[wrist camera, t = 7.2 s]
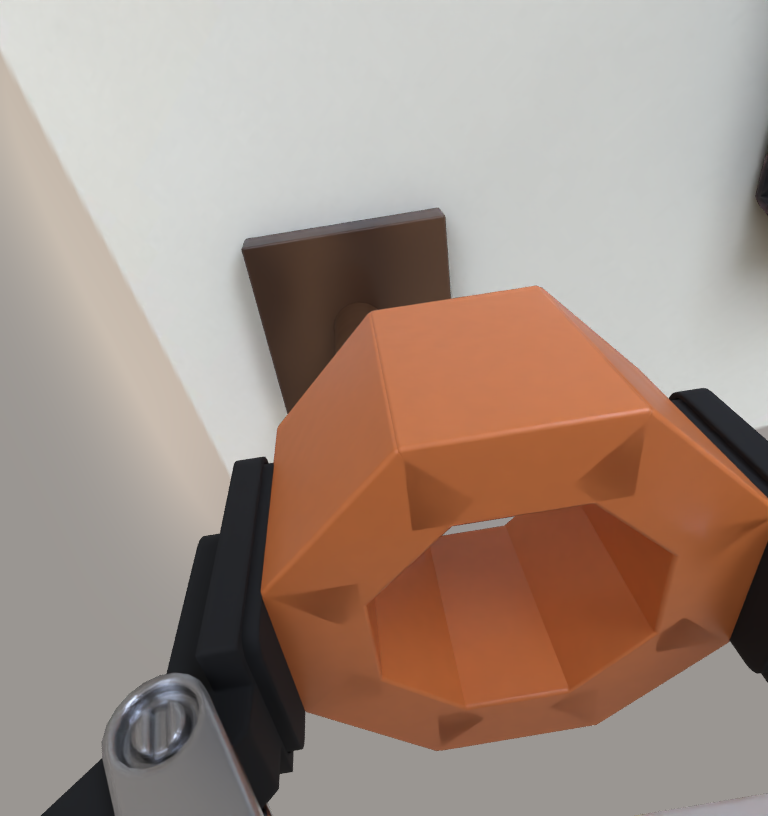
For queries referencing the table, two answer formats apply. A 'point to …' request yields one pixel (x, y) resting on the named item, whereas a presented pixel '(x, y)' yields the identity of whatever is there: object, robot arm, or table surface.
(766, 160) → the diary
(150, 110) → the table surface
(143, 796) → the robot arm
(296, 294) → the stand
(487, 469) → the ring
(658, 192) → the table surface
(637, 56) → the table surface
